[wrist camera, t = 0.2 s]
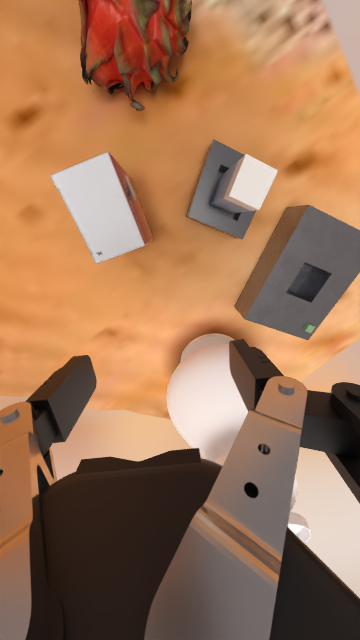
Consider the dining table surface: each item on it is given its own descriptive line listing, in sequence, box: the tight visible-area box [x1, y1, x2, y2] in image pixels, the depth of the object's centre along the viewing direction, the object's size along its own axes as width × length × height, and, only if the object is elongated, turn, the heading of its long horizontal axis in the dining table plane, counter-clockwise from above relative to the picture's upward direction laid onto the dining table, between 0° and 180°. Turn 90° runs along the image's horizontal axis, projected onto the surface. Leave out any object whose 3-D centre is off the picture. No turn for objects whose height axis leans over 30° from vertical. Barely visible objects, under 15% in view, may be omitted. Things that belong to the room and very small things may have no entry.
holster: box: [186, 140, 256, 239], centre depth 25 cm, size 8×8×3 cm
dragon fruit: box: [79, 0, 192, 111], centre depth 18 cm, size 8×8×12 cm
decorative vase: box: [167, 333, 311, 544], centre depth 28 cm, size 18×18×25 cm
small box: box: [51, 152, 153, 264], centre depth 23 cm, size 8×6×10 cm
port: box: [235, 205, 360, 340], centre depth 30 cm, size 16×12×6 cm
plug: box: [209, 154, 278, 214], centre depth 22 cm, size 3×3×10 cm
